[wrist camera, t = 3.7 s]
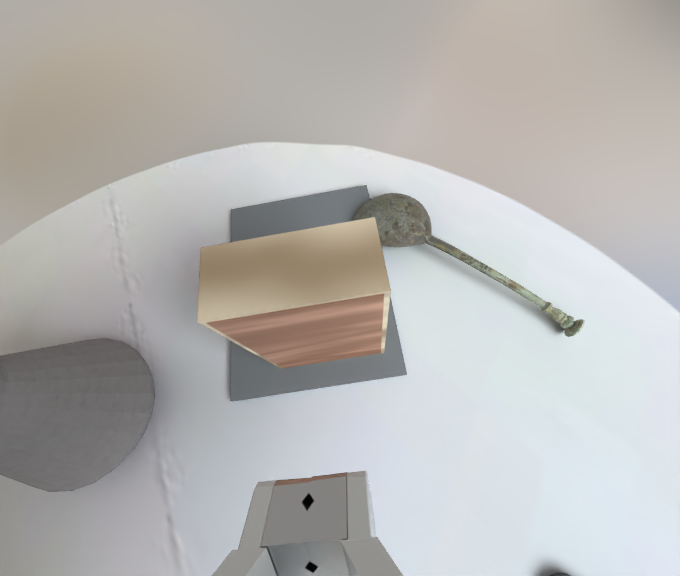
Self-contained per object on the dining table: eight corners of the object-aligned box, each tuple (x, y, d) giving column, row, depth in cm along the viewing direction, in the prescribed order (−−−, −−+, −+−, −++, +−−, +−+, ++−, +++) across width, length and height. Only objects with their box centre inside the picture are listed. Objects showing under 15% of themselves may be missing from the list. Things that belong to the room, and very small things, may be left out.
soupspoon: (378, 192, 35) (341, 235, 33) (377, 170, 31) (336, 217, 30) (588, 303, 27) (553, 365, 26) (614, 288, 24) (576, 358, 23)
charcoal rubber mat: (406, 374, 27) (406, 373, 26) (232, 401, 27) (230, 400, 27) (366, 188, 35) (366, 185, 34) (233, 212, 35) (231, 209, 35)
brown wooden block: (384, 353, 27) (390, 290, 14) (280, 369, 27) (196, 322, 15) (375, 308, 29) (375, 216, 16) (278, 324, 29) (200, 247, 16)
